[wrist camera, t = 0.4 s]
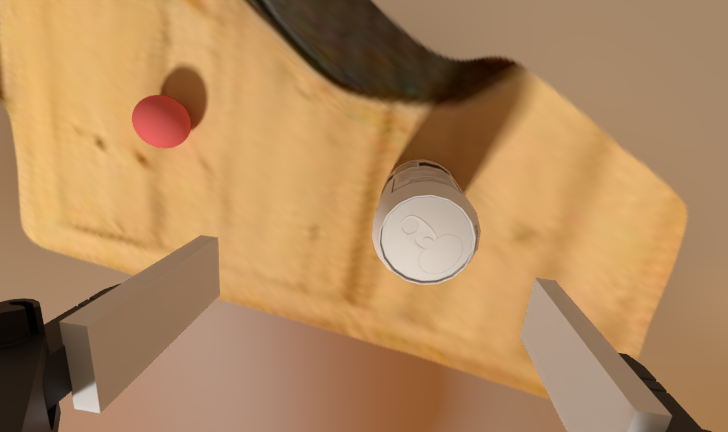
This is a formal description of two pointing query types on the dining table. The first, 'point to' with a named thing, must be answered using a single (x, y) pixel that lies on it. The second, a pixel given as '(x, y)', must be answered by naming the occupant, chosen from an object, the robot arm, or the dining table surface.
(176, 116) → the ball
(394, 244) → the supplement can
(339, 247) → the dining table surface
